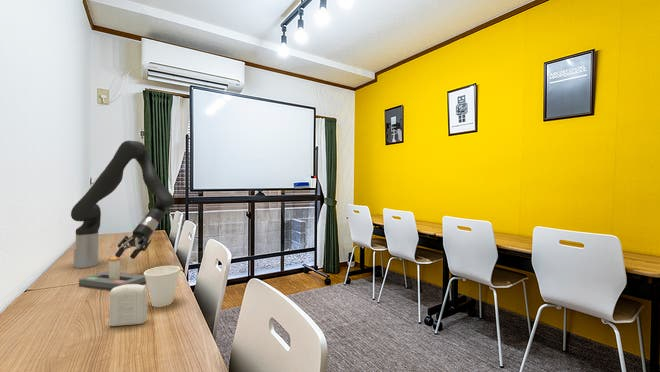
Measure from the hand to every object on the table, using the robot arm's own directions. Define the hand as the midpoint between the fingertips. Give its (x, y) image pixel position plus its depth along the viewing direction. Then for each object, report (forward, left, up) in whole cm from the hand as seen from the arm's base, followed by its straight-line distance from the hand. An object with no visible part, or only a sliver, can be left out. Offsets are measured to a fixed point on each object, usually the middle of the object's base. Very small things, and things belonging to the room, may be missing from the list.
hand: (124, 257), depth 132 cm
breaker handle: (-2, -4, -9) cm, 11 cm away
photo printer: (+18, -45, -11) cm, 50 cm away
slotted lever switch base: (-2, -4, -11) cm, 12 cm away
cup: (+24, -31, -11) cm, 40 cm away
